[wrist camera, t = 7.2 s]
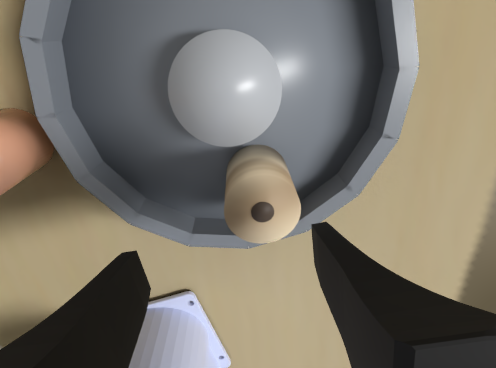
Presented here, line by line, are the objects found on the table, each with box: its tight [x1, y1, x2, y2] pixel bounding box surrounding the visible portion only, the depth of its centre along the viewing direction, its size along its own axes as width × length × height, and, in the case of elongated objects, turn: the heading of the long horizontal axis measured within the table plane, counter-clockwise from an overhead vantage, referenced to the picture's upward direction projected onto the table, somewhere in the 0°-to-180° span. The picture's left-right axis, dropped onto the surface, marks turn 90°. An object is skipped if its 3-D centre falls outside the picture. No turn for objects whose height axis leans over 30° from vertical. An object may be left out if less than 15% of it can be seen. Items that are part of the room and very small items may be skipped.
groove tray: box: [19, 0, 419, 249], centre depth 18 cm, size 20×20×3 cm
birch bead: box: [224, 145, 301, 244], centre depth 19 cm, size 4×4×5 cm
